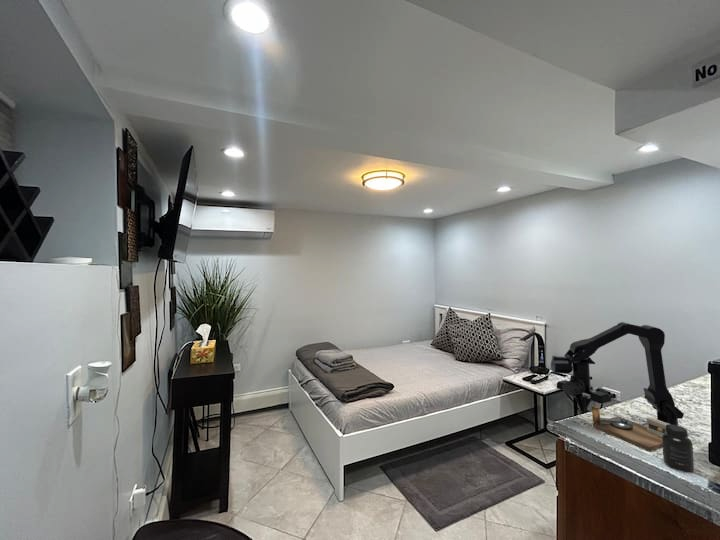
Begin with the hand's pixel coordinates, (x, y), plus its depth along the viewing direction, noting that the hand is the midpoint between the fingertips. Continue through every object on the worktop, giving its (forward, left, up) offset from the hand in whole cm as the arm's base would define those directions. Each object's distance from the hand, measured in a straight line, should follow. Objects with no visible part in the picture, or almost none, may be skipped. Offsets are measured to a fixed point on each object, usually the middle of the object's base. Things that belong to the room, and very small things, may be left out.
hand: (583, 412), depth 129 cm
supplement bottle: (+1, +31, -5) cm, 31 cm away
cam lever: (-5, +8, -2) cm, 10 cm away
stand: (-7, +13, -4) cm, 16 cm away
